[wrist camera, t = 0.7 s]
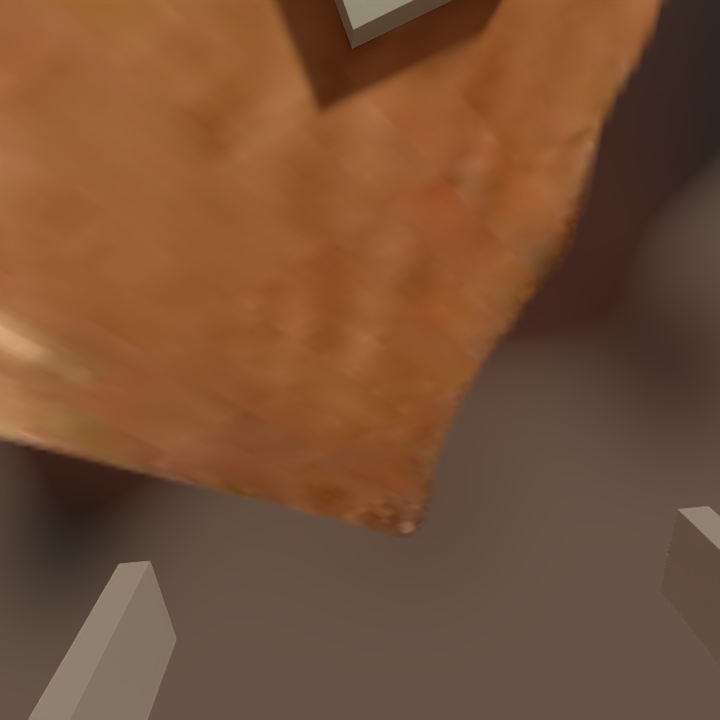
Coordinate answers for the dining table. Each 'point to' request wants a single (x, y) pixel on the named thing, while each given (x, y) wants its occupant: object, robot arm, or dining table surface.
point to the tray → (379, 16)
